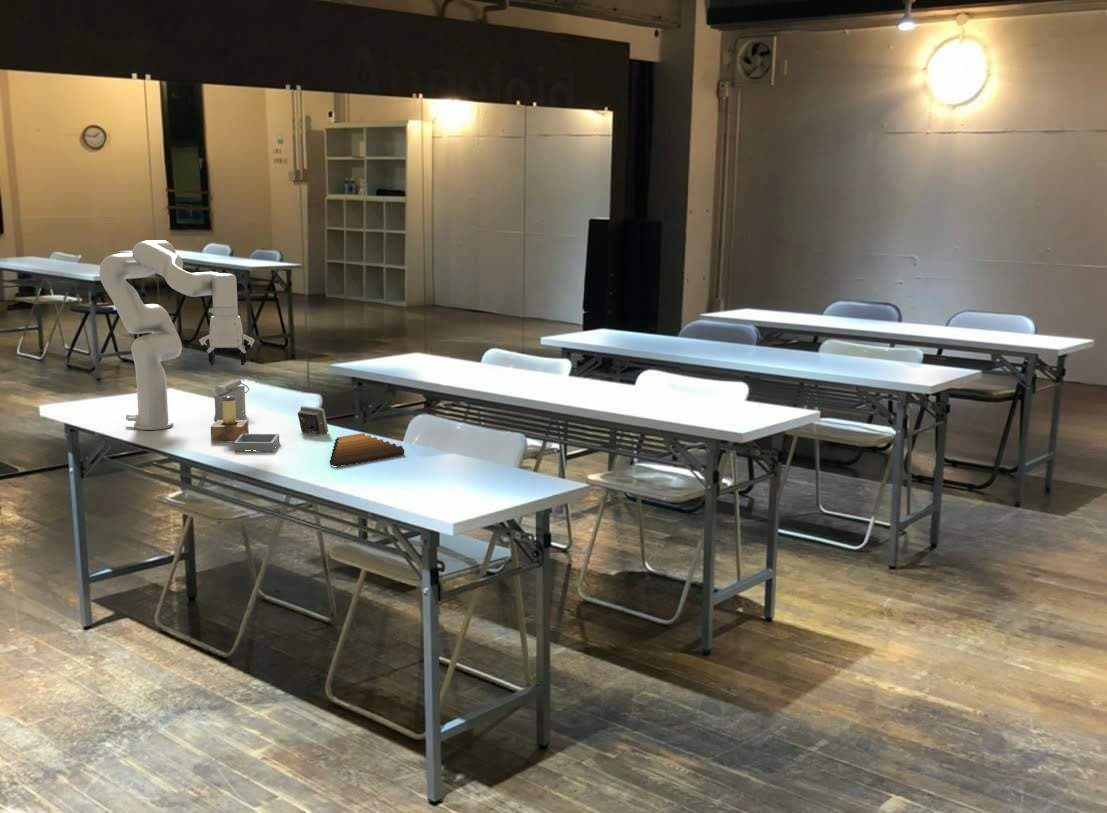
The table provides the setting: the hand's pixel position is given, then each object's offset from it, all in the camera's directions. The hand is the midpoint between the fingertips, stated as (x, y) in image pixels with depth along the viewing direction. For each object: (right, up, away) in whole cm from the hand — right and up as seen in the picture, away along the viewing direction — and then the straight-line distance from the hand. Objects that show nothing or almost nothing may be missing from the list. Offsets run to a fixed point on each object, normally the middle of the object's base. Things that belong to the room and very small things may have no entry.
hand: (227, 364), depth 337 cm
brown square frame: (-1, -24, +5) cm, 25 cm away
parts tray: (+11, -27, -6) cm, 30 cm away
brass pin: (-1, -24, +5) cm, 25 cm away
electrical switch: (+24, -23, +15) cm, 37 cm away
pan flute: (+42, -29, -10) cm, 52 cm away
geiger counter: (-8, -19, +28) cm, 35 cm away
